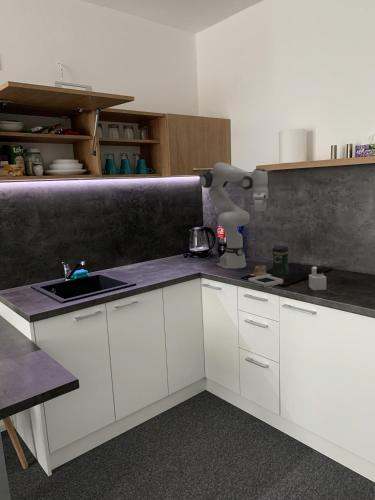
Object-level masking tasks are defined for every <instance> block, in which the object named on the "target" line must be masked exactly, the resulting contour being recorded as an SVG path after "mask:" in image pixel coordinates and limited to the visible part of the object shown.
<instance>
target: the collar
mask: <svg viewBox="0 0 375 500" xmlns="http://www.w3.org/2000/svg"><path fill="white" fill-rule="evenodd" d="M259 267H262V268H259ZM266 273H267V267H266V265H255V266H254V269H253V274H255V275H257V276H263V275H266Z"/></svg>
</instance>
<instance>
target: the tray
mask: <svg viewBox="0 0 375 500" xmlns="http://www.w3.org/2000/svg"><path fill="white" fill-rule="evenodd" d="M266 278H267V279H270V280H273V281H267V282H263V281H259V280H261V279H266ZM247 280H248V282H251V283H254V284H257V285H260V287H262V288H270V287H274V286H278V284H280V285H283V284H284V278H279V277H276V276H272V275H263V276H258V277H256V276H253V277H249V278H248V279H247Z"/></svg>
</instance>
